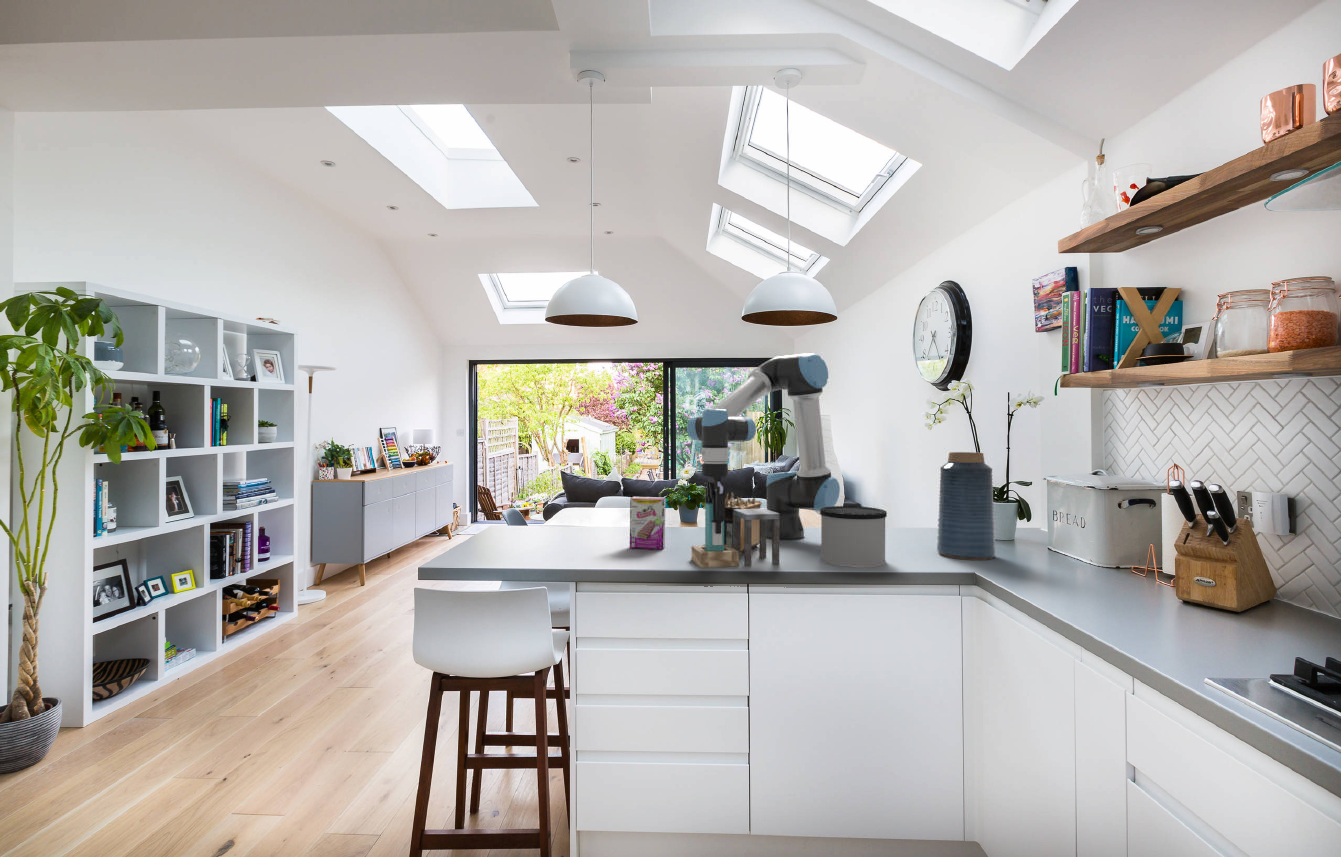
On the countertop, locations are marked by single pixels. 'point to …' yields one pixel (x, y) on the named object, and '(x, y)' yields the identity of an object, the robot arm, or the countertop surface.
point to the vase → (966, 508)
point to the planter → (728, 521)
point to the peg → (709, 530)
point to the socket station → (733, 554)
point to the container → (853, 536)
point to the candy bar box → (647, 522)
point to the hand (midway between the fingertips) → (714, 543)
